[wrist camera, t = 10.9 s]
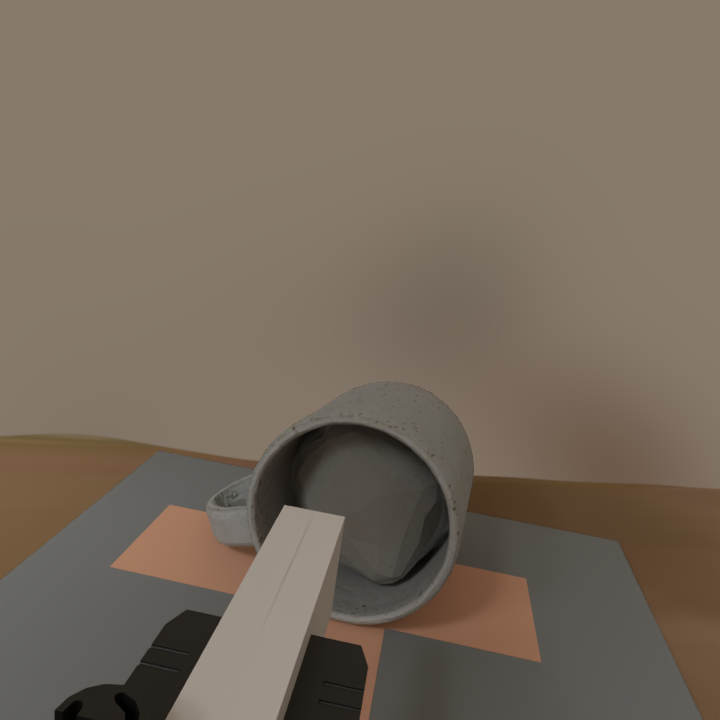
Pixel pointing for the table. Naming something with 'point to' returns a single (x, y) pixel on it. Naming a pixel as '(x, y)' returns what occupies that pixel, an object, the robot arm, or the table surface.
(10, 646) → the t mat
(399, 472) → the ceramic mug
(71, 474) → the table surface
